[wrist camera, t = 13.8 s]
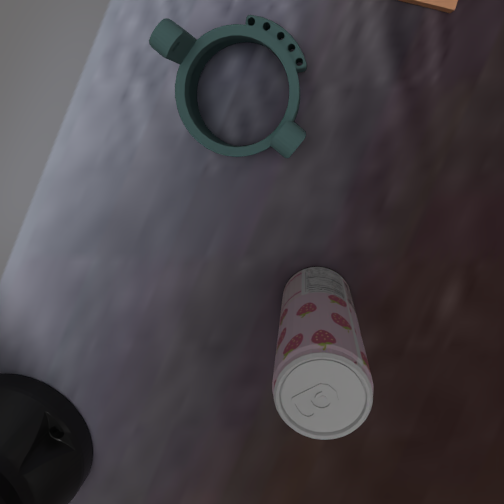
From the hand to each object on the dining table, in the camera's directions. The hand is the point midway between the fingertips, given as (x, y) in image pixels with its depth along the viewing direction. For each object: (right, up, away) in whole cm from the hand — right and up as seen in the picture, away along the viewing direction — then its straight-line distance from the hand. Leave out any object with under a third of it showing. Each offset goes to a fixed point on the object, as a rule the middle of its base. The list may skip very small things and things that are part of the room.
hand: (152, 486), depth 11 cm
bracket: (+2, +18, +25) cm, 31 cm away
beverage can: (+8, +2, +29) cm, 30 cm away
